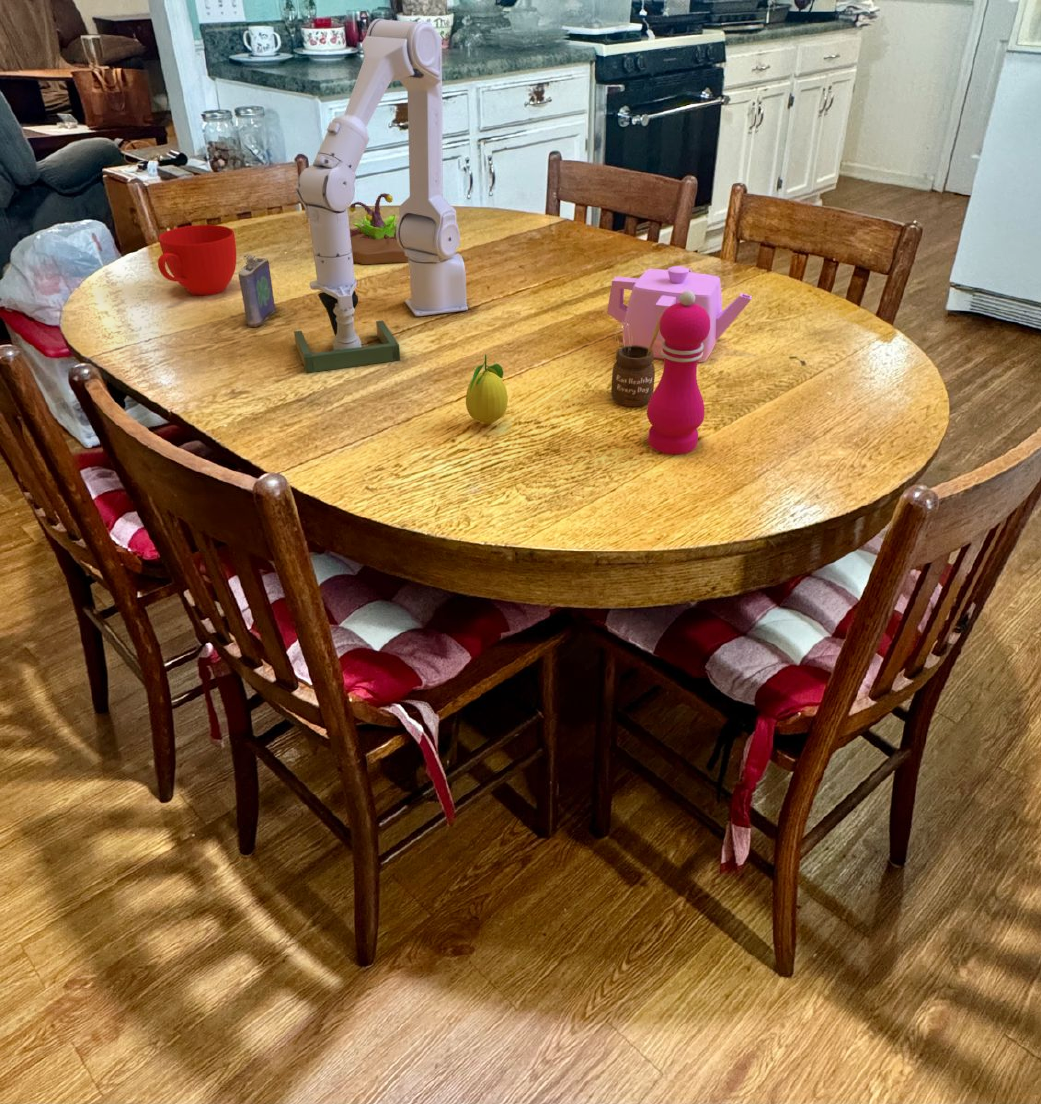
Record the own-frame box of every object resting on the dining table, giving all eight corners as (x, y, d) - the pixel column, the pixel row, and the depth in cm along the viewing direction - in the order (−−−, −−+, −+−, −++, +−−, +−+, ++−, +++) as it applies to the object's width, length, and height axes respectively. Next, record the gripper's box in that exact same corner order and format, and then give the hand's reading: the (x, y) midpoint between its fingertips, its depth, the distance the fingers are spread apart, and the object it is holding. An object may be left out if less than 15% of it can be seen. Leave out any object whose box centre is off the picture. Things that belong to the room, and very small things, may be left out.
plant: (423, 264, 178) (419, 206, 172) (325, 264, 179) (317, 206, 172) (432, 236, 195) (429, 182, 188) (343, 236, 195) (336, 181, 189)
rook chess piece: (366, 345, 142) (363, 300, 137) (355, 360, 139) (351, 314, 134) (340, 340, 143) (335, 294, 137) (328, 355, 140) (323, 309, 134)
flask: (258, 327, 150) (247, 263, 144) (242, 327, 151) (230, 262, 145) (279, 309, 158) (268, 247, 152) (263, 308, 158) (252, 246, 152)
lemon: (471, 439, 117) (469, 367, 112) (456, 421, 122) (453, 351, 116) (518, 430, 119) (518, 359, 114) (501, 412, 124) (500, 343, 118)
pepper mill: (639, 431, 119) (651, 281, 108) (693, 429, 119) (710, 280, 108) (650, 458, 113) (664, 302, 102) (706, 455, 114) (727, 300, 102)
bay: (384, 334, 148) (383, 320, 146) (400, 360, 139) (399, 344, 138) (296, 346, 144) (293, 331, 142) (306, 373, 135) (304, 357, 134)
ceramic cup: (140, 303, 160) (126, 246, 155) (201, 275, 173) (190, 221, 168) (199, 312, 156) (187, 254, 151) (257, 283, 169) (248, 228, 164)
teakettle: (598, 336, 147) (602, 260, 140) (685, 320, 153) (693, 246, 146) (655, 374, 134) (663, 293, 127) (747, 355, 140) (759, 276, 133)
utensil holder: (609, 389, 130) (614, 308, 123) (653, 390, 130) (660, 309, 123) (611, 407, 125) (616, 324, 118) (656, 407, 125) (664, 324, 118)
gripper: (298, 241, 139) (310, 325, 147) (313, 268, 128) (325, 358, 136) (344, 236, 141) (353, 320, 149) (362, 263, 130) (371, 352, 138)
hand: (343, 338), depth 143 cm, fingers closed
